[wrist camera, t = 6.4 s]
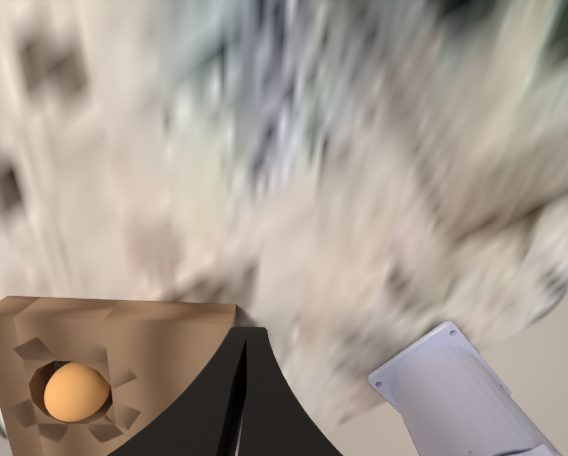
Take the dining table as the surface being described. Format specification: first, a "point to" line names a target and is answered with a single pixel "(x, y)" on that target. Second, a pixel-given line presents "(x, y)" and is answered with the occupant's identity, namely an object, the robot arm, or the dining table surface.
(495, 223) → the dining table surface
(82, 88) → the dining table surface
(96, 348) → the board
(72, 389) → the ball
